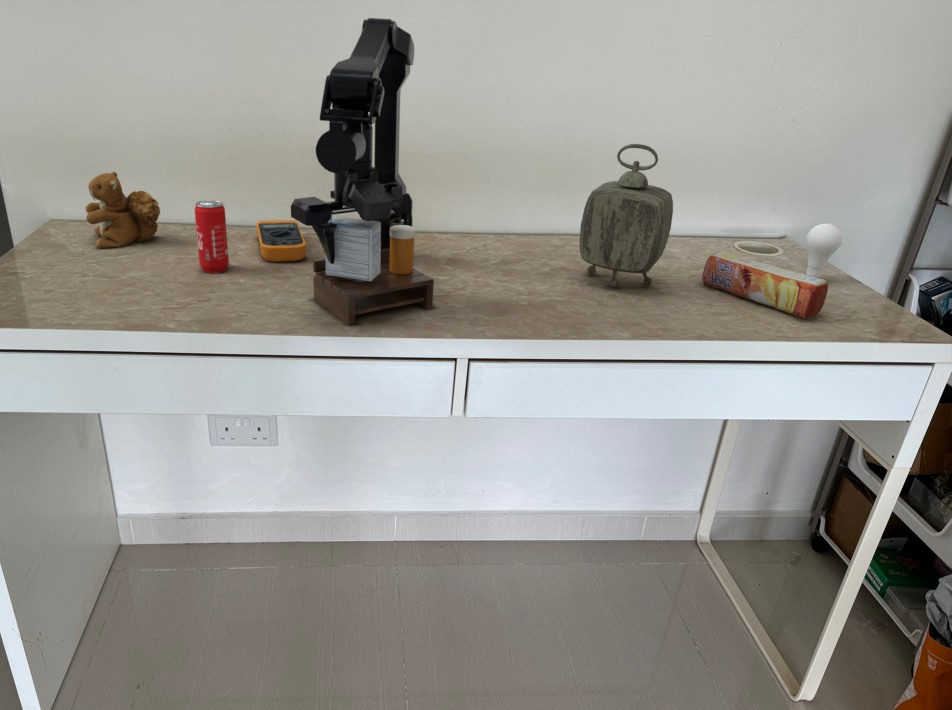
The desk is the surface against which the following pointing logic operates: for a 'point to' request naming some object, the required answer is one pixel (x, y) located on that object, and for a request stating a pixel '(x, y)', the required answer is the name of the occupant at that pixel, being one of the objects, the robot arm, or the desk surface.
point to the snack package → (766, 284)
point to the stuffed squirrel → (120, 212)
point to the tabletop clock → (626, 223)
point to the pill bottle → (401, 249)
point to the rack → (370, 290)
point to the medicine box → (356, 249)
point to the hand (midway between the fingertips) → (352, 259)
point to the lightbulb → (821, 247)
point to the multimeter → (281, 240)
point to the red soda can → (211, 236)
